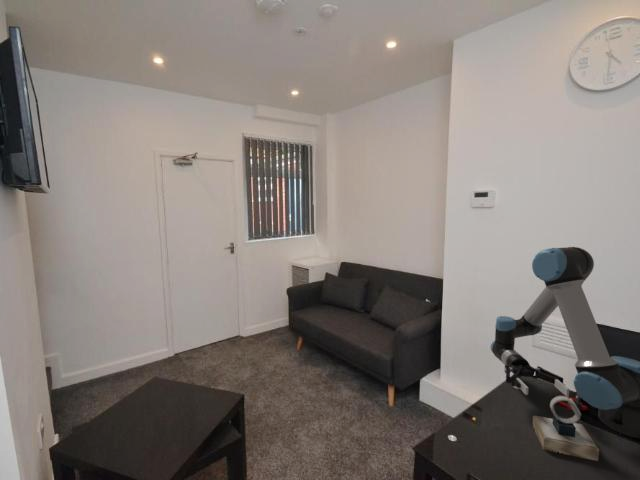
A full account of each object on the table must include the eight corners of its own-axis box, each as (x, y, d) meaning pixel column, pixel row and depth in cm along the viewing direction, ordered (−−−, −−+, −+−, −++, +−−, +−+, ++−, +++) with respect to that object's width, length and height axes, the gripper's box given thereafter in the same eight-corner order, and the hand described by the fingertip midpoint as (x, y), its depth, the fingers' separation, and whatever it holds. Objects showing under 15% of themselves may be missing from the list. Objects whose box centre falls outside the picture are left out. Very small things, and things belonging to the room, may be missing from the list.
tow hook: (549, 398, 129) (568, 411, 120) (551, 366, 128) (569, 377, 119) (570, 397, 129) (590, 411, 120) (571, 366, 129) (591, 377, 119)
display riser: (581, 434, 108) (582, 423, 107) (598, 461, 96) (599, 448, 96) (532, 425, 112) (533, 414, 112) (543, 449, 101) (544, 437, 101)
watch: (582, 438, 100) (585, 405, 99) (552, 433, 103) (554, 400, 102) (574, 427, 105) (577, 395, 104) (546, 422, 108) (548, 391, 107)
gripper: (546, 372, 133) (584, 403, 112) (483, 370, 135) (509, 400, 114) (547, 355, 132) (586, 383, 111) (484, 353, 134) (510, 380, 113)
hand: (547, 392), depth 112 cm, fingers open, 13 cm apart
